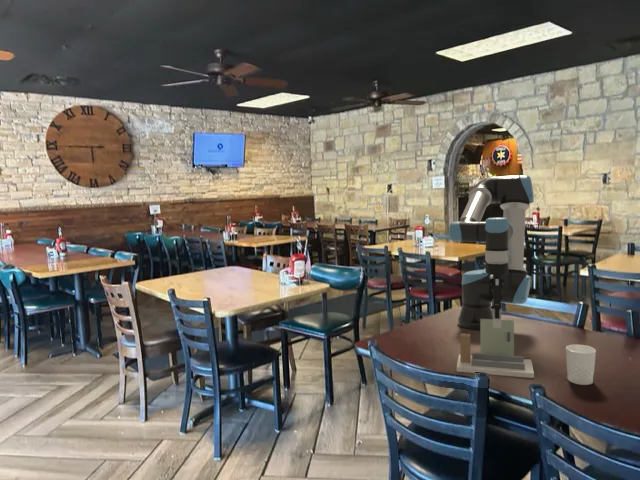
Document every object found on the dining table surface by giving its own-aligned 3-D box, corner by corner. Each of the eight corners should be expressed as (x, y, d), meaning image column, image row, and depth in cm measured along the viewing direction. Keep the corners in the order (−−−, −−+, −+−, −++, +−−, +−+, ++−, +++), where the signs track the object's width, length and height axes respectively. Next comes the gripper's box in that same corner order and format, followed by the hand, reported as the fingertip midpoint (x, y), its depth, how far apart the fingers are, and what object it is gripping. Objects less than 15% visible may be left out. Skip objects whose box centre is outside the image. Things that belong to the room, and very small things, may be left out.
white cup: (594, 388, 141) (595, 354, 140) (564, 383, 145) (564, 350, 144) (595, 378, 148) (596, 346, 146) (566, 374, 152) (567, 343, 151)
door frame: (456, 371, 157) (456, 340, 156) (458, 358, 168) (458, 329, 167) (534, 378, 150) (534, 345, 148) (530, 364, 161) (531, 333, 160)
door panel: (480, 354, 171) (480, 321, 170) (480, 351, 175) (480, 318, 174) (513, 357, 168) (514, 323, 166) (513, 353, 171) (513, 320, 170)
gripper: (509, 268, 155) (509, 332, 157) (507, 257, 179) (507, 314, 181) (485, 267, 158) (485, 331, 160) (485, 257, 181) (485, 313, 183)
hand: (496, 322), depth 170 cm, fingers open, 13 cm apart
